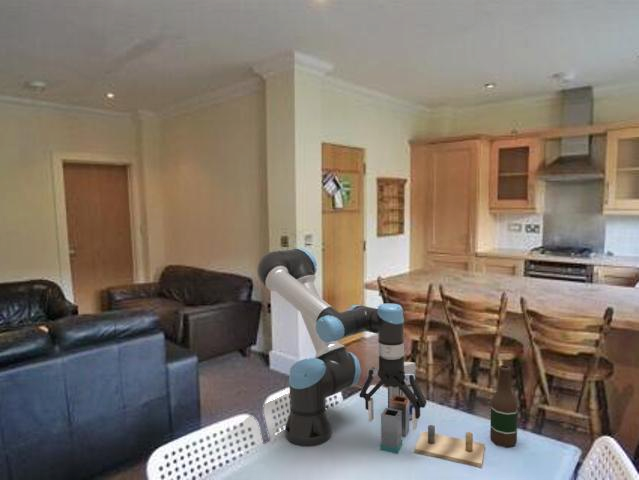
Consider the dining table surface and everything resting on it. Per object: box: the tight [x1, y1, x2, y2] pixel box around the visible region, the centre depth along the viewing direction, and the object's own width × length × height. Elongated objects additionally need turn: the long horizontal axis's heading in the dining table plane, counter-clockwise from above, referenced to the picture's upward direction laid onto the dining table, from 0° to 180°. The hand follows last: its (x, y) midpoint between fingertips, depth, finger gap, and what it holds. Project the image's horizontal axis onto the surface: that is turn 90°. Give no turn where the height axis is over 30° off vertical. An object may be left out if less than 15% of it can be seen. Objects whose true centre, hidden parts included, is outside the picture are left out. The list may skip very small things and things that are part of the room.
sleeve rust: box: [389, 395, 410, 438], centre depth 142 cm, size 5×5×11 cm
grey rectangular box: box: [379, 407, 403, 455], centre depth 133 cm, size 5×5×11 cm
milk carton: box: [387, 361, 417, 421], centre depth 151 cm, size 7×7×20 cm
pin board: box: [413, 424, 486, 469], centre depth 131 cm, size 19×11×6 cm, turn 65°
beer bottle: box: [489, 364, 519, 449], centre depth 134 cm, size 8×8×24 cm
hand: (392, 424), depth 132 cm, fingers open, 13 cm apart
